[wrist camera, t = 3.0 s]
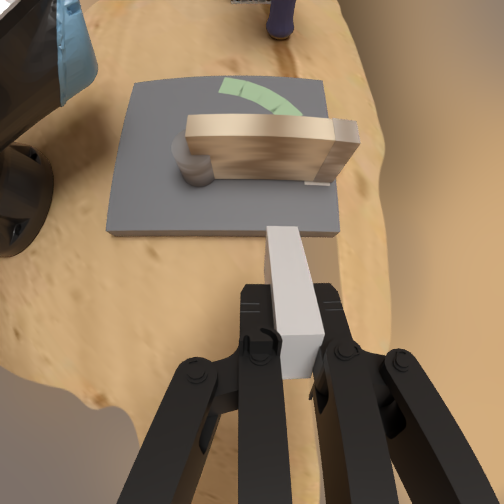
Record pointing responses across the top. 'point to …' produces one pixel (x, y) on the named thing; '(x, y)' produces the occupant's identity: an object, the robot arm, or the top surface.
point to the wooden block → (263, 147)
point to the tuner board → (219, 190)
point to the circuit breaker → (250, 2)
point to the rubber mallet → (281, 18)
